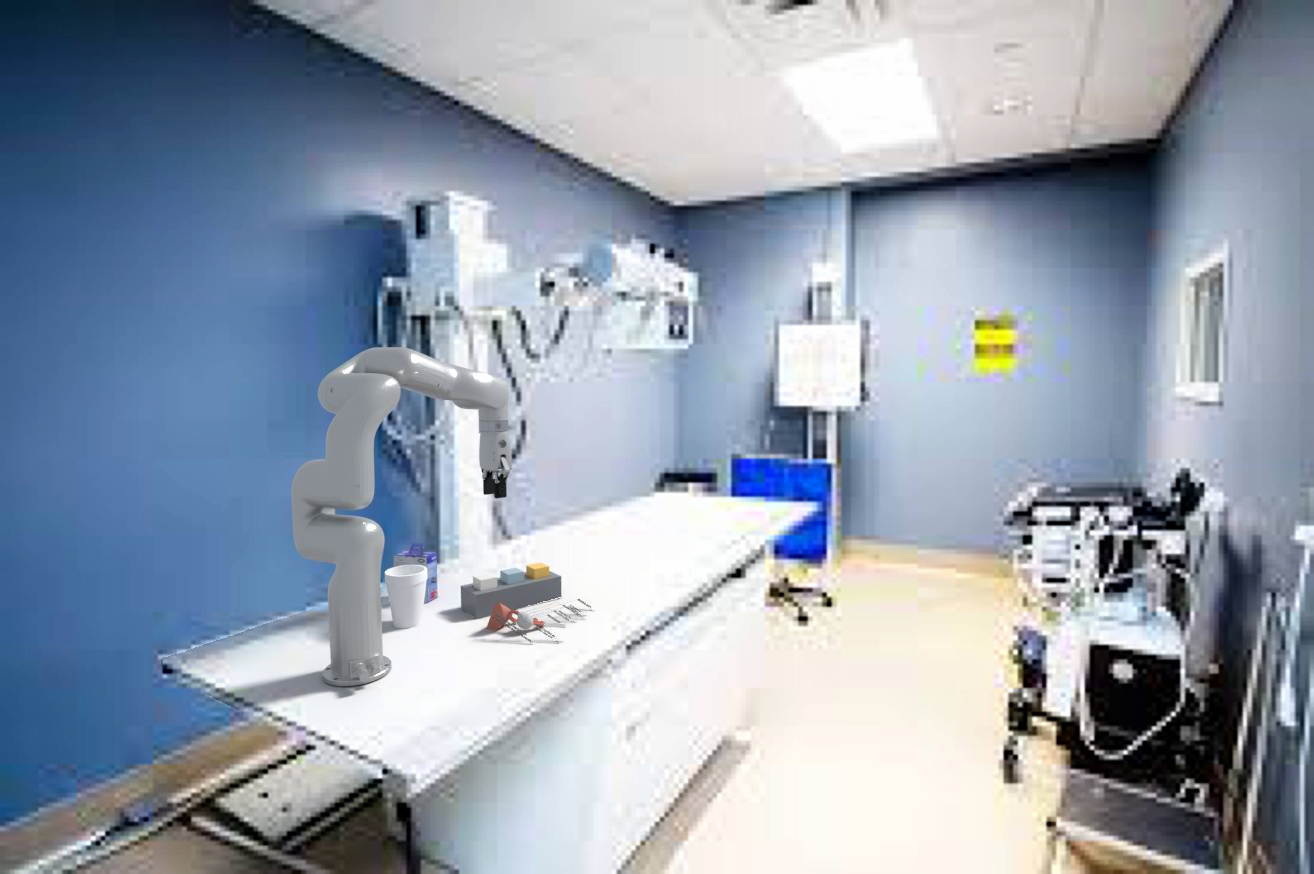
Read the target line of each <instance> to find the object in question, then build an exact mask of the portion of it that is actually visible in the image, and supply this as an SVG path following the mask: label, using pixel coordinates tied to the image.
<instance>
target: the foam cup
mask: <svg viewBox="0 0 1314 874" xmlns="http://www.w3.org/2000/svg"><path fill="white" fill-rule="evenodd" d="M427 579H428V578H427V568H426V567H425V566H422V565H402V566H396V567H394V566H393V567H390V568H387V569H386V570H385V571H384V583H385V585H386V590H387V594H388V595H387V596H388V602H389V607H390V613H391V618H392V623H393V626H394V628H396V629H404V630H405V629H412V628H416V627H418V626H420V625H421V624H422V623H423V622H422V621H423V615H424V607H425V602H424V598H425V589H426V580H427Z"/></svg>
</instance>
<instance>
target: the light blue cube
mask: <svg viewBox="0 0 1314 874" xmlns="http://www.w3.org/2000/svg"><path fill="white" fill-rule="evenodd" d="M499 572H500V577H499V578H500V581H501V582H503V583H505V584H507V585H511V584H516V583H521V582H524V572H525V571H524V570H521V569H519V568H517V567H512V568H508V569H502V570H500V571H499Z"/></svg>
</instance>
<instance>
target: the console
mask: <svg viewBox="0 0 1314 874" xmlns="http://www.w3.org/2000/svg"><path fill="white" fill-rule="evenodd" d="M558 597H561V598H562V576H561V575H559V574H557V573H555V572H553V571H551V570H549V576H548V577H544V578H539V579H532V578H530V577H528V576H526V572H525V571H524V582H521V583H516V584H511V585H507V584H505V583H503V582H501V581H500V577H497V588H493V589H488V590H484V591H479V590H477V589H475V588H474V587H473V582H472V583H468V584H464V585H463V584H462V585H460V609H461V610H462V611H464V612H465V613H467V614H468V615H469V616H471V617H472V618H474V619H476V620H478V619H482V618H483V619H484V618H487V617H490V616H491V614H492V611H493V608H494V605H495V604H497V603H498V602H499V603H500V604H502V605H504V606H506V607H507V608H509V609H510V610H514V609H516V610H519V609H518V608H520V609H523V607H524V608H527V607H526V606H528V605H532V606H535V605H534V604H536V605H538V604H537V603H540V602H543V601H548V600H551V599H555V598H558ZM548 602H549V601H548ZM540 604H541V603H540ZM528 607H529V606H528Z"/></svg>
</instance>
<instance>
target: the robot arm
mask: <svg viewBox="0 0 1314 874" xmlns="http://www.w3.org/2000/svg"><path fill="white" fill-rule="evenodd" d="M402 389H404V390H406V391H409V392H414V393H415V394H416V393H417V394H419V395H422V396H425V397H427V398H428V397H429V398H430V399H434V400H441V401H442V400H443V401H451V402H452V403H453V404H454V406H456V407H458V408H460V409H464V410H478V411H477V412H478V434H480V435H479V443H478V444H479V446H478V448H479V450H478V452H479V454H478V455H479V456H478V459H479V460H478V461H479V468H480V470H481V473H482V475H481V477H482V486H483V487H482V489H483V490H482V491H483V495H484V496H487V495H494V498H495V499H504V498H505V499H506V498H507V496H508V495H507V483H508V477H509V475H510V472H511V470H512V468H513V460H512V459H513V458H512V447H511V440H510V434H509V430H510V429H509V399H510V392H509V386H508V382H507V381H506V380H503V379H500V378H498V377H496V376H494V375H492V374H489V373H486V372H482V371H478V370H474V369H470V368H466V367H463V366H460V365H455V364H451V363H448V362H447V363H446V362H444V361H440V360H439V359H436V358H434V357H431V356H429V355H426V354H424V353H421V352H419V351H417V350H414V349H412V348H408V347H401V346H400V347H395V346H392V347H391V346H390V347H387V346H385V347H383V346H382V347H380V346H379V347H378V346H377V347H371V348H368V349H365V350H363V351H361V352H359V353H358V354H356V355H355V356H353V357H352V358H350V359H348V360H347V361H346V362H344V363H342V364H340V366H338V367H336V368H335V369H333V370H332V371H330V372H329V373H328V374H327V375H326V376H325V377H323V378H322V380H321V382H320V384H319V386H318V389H317V399H318V401H319V404H320V406H321V407H322V408H323V409H324V410H325V411H327V412H329V413H331V414H334V417H333V419H332V420H331V422H330V424H329V426H328V428H327V431H326V436H325V459H324V458H321V459H320V458H319V459H312V460H308V461H307V462H305V463H303V464H302V465H301V466H300V467H299V468H298V470H297V471H296V473H295V474H294V477H293V479H292V485H291V512H292V515H291V516H292V533H293V536H292V537H293V542H294V546H295V549H296V551H297V553H298V554H299V555H301V557H303V558H305V559H307V560H308V561H309V560H310V561H314V562H321V563H327V564H333V565H335V569H334V571H333V573H332V576H331V578H330V580H329V583H328V587H327V605H328V606H327V607H328V627H329V630H328V632H329V650H330V651H329V652H330V653H329V654H330V655H329V656H330V663H329V664H328V665H327V666H326V667H325V668H323V670H322V679H323V681H324V682H325V683H326V684H328V685H331V686H334V687H335V686H336V687H354V686H355V687H356V686H360V685H365V684H369V683H372V682H375V681H377V680H379V679H381V678H383V677H384V676H386V675H387V674H389V672H390V671H391V670H392V666H393V665H392V660H391V659H390V658H389V657H388V656H386V655H384V650H383V649H384V648H383V646H384V644H383V624H382V623H383V619H382V617H383V616H382V592H381V590H382V589H381V571H382V567H381V566H382V562H383V561H382V560H383V554H384V549H385V543H386V542H385V532H384V531H383V528H382V527H381V526H380V524H379V523H377V522H376V521H375V520H373V519H371V518H367V517H364V516H358V515H347V514H336V510H340V511H341V510H342V511H343V510H344V511H358V510H362V509H365V508H367V507H368V506H369V505H370V504H371V503H372V502H373V499H374V497H375V496H374V495H375V486H376V485H375V456H374V453H375V451H374V450H375V449H374V447H375V437H376V433H377V431H378V429H379V427H380V425H381V423H382V422H383V421H384V420H385V418H386V417H388V415H389V414H390V413H391V412H393V411H394V410H395V408H396V407H397V405H398V403H399V401H400V399H401V392H402V391H401V390H402Z"/></svg>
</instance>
